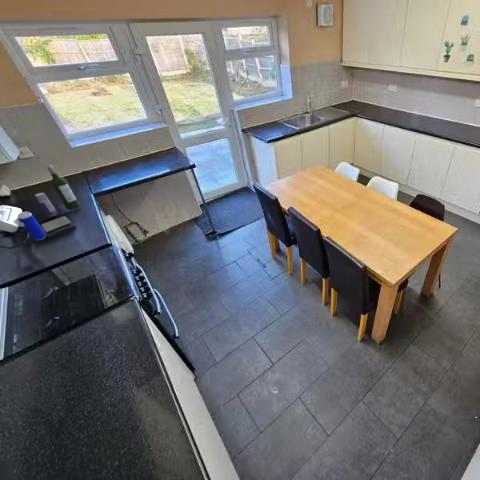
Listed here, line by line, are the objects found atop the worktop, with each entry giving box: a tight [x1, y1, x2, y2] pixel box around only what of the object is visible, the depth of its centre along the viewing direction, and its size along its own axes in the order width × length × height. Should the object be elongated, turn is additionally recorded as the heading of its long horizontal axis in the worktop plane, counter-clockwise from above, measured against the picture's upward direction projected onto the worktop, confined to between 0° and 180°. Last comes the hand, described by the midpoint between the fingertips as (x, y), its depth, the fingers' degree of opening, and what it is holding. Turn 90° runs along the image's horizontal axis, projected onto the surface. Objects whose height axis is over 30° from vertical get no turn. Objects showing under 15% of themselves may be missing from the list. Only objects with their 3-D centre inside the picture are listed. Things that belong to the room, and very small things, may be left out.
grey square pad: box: [40, 215, 71, 233], centre depth 168 cm, size 12×12×1 cm
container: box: [34, 192, 58, 217], centre depth 178 cm, size 5×5×15 cm
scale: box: [40, 216, 78, 239], centre depth 169 cm, size 14×16×3 cm
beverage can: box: [17, 211, 47, 241], centre depth 137 cm, size 5×5×15 cm
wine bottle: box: [45, 164, 81, 210], centre depth 181 cm, size 8×8×30 cm
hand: (32, 223), depth 138 cm, fingers closed on beverage can, 3 cm apart
